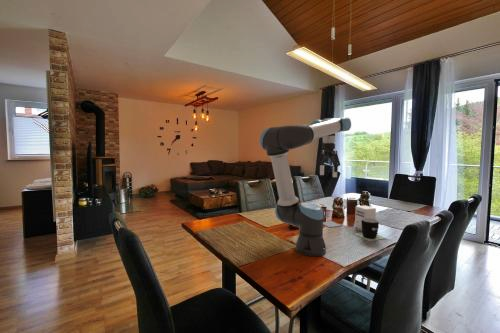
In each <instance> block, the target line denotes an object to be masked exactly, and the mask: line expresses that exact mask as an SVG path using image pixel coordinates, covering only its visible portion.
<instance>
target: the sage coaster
mask: <svg viewBox="0 0 500 333" xmlns="http://www.w3.org/2000/svg"><path fill="white" fill-rule="evenodd" d="M353 235H355V236H357V237H358V238H361V239H363V240H365V241H367V242H374V241H380V240H386V237H383V236H381V235H379V234H377V236H376V238H375V239H368V238H365V237H364V236H363V234H362V231H361V232H355V233H353Z"/></svg>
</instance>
